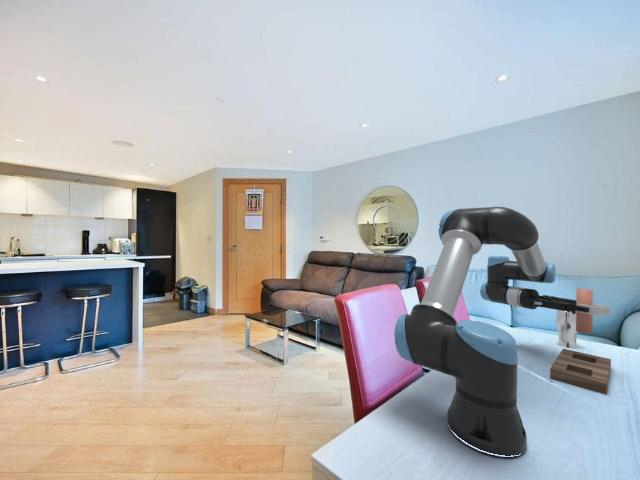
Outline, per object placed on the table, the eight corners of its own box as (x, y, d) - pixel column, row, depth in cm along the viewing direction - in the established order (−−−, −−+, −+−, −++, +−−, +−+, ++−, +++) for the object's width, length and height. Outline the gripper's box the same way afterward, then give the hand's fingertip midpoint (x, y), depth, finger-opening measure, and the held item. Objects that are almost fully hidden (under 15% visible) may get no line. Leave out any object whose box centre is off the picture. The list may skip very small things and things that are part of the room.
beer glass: (555, 343, 118) (555, 307, 118) (577, 347, 114) (577, 310, 114) (556, 348, 112) (557, 310, 112) (580, 352, 108) (580, 313, 108)
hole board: (606, 398, 77) (606, 383, 77) (550, 381, 86) (550, 368, 86) (610, 371, 93) (610, 359, 93) (563, 359, 102) (563, 348, 102)
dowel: (585, 334, 91) (586, 290, 91) (572, 330, 95) (573, 288, 95) (596, 333, 92) (596, 290, 92) (582, 329, 95) (583, 288, 96)
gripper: (534, 305, 113) (616, 319, 93) (511, 309, 105) (596, 327, 84) (534, 286, 113) (616, 297, 93) (511, 289, 105) (596, 302, 84)
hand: (606, 311), depth 89 cm, fingers closed on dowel, 4 cm apart
